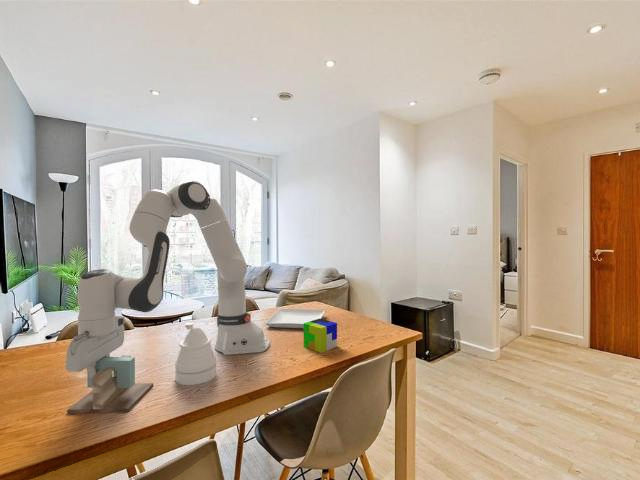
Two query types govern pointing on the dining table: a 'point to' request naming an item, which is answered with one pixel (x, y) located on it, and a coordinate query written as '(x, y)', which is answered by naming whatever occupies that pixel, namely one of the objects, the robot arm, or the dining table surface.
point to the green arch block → (119, 364)
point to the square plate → (293, 318)
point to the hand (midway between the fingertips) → (98, 373)
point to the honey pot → (195, 358)
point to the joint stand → (110, 394)
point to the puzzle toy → (320, 335)
